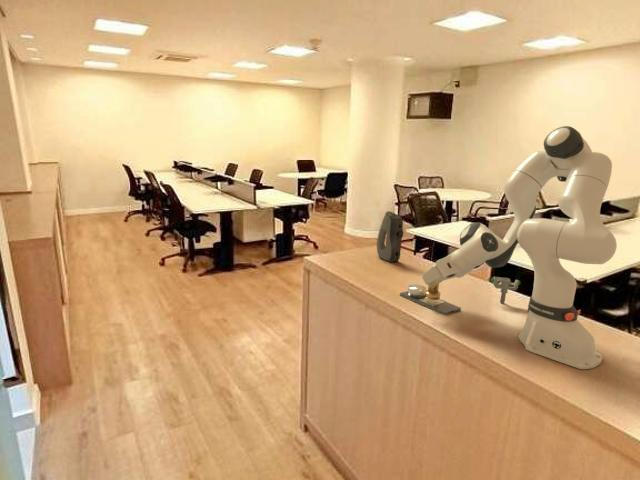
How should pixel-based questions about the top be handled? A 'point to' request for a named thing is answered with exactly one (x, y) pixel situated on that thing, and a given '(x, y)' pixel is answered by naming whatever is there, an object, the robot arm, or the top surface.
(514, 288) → the mechanical component
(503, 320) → the top surface
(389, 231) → the handheld device
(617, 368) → the top surface
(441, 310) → the carrier plate
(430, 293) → the gold pawn piece
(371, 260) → the top surface
